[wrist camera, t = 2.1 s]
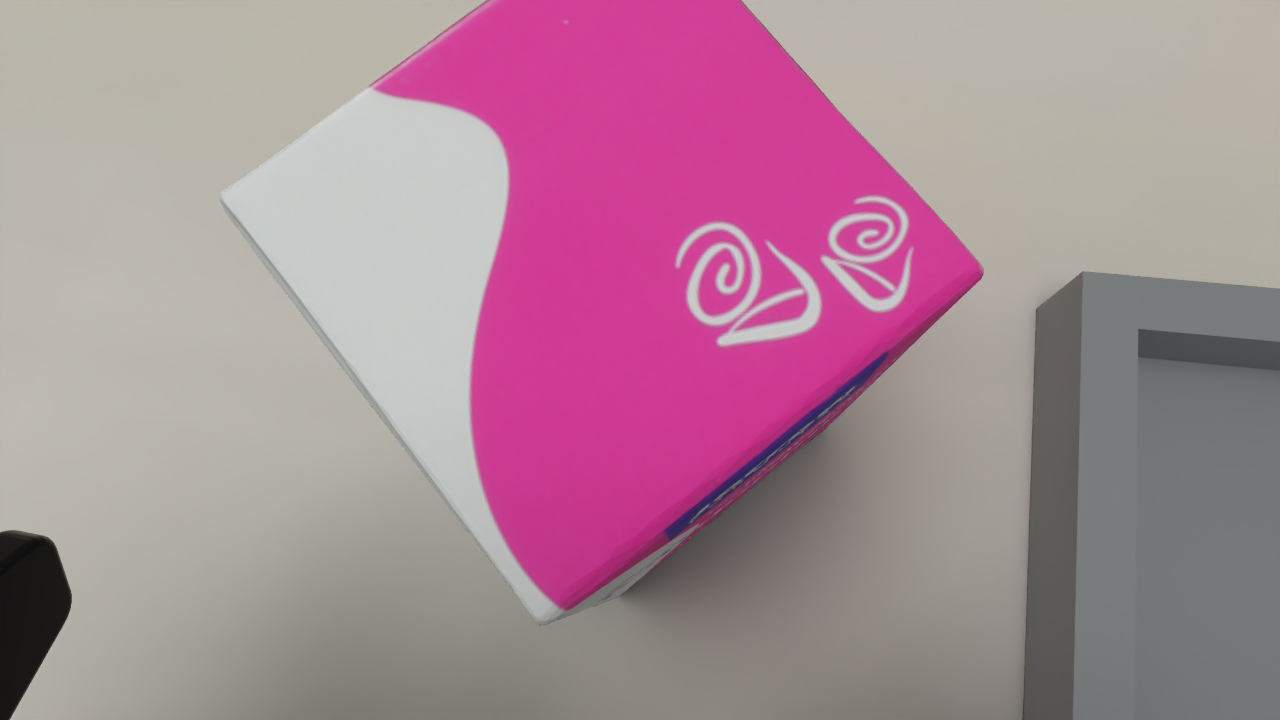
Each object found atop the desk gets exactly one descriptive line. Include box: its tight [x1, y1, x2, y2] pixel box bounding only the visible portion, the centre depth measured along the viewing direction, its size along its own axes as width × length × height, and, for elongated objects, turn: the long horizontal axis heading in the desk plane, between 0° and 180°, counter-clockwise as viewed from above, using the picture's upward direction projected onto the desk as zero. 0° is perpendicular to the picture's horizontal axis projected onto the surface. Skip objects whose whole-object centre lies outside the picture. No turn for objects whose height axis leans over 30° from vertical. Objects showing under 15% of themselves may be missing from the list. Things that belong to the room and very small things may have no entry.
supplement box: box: [220, 0, 984, 625], centre depth 15 cm, size 6×6×12 cm
